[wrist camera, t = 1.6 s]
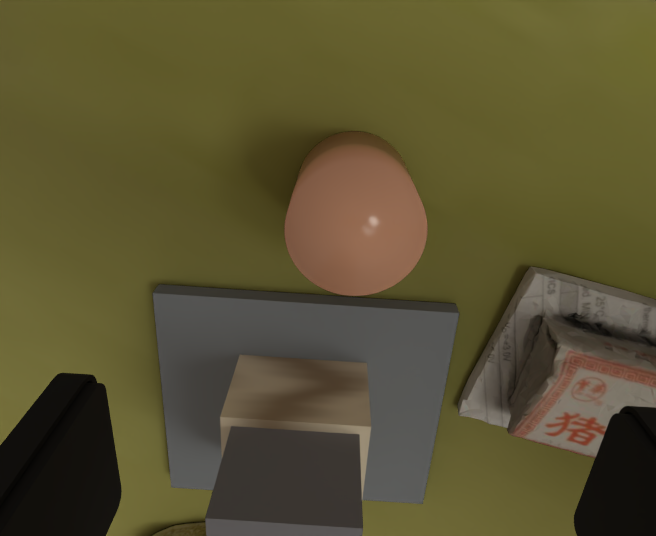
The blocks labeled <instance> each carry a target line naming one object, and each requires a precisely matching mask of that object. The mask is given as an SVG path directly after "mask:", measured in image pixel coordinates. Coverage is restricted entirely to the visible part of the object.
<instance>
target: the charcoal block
mask: <svg viewBox="0 0 656 536" xmlns="http://www.w3.org/2000/svg"><path fill="white" fill-rule="evenodd" d="M205 523H206V536H362V532H363V517H362V490H361V462H360V435H359V434H345V433H330V432H315V431H299V430H284V429H269V428H254V427H238V426H231V428H230V432H229V435H228V439H227V443H226V446H225V450H224V453H223V457H222V460H221V464H220V467H219V471H218V475H217V478H216V482H215V485H214V489H213V492H212V496H211V500H210V503H209V507H208V510H207V514H206V517H205Z"/></svg>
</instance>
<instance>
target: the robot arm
mask: <svg viewBox="0 0 656 536" xmlns="http://www.w3.org/2000/svg"><path fill="white" fill-rule="evenodd" d="M120 499H121V483H120V476H119V470H118V464H117V457H116V451H115V444H114V438H113V432H112V425H111V419H110V412H109V406H108V400H107V393H106V388H105V386H104V384H102V383H97V381H96V378H95V377H94V376H93V375H88V374H71V373H60V374H58V375H57V376H56V377H55V378H54V379H53V380H52V381H51V382H50V384H49V385H48V386H47V387H46V389H45V390H44V391H43V393H42V394H41V395H40V396H39V398H38V399H37V400H36V401H35V403H34V404H33V405H32V406H31V408H30V409H29V410H28V411H27V413H26V414H25V415H24V416H23V418H22V419H21V420H20V422H19V423H18V424H17V425H16V427H15V428H14V429H13V430H12V432H11V433H10V434H9V435H8V437H7V438H6V439H5V440H4V442H3V443H2V444H1V445H0V536H106V534H107V532H108V529H109V527H110V525H111V523H112V521H113V518H114V516H115V514H116V512H117V509H118V507H119V503H120ZM574 526H575V531H576V534H577V536H656V407H639V406H624V407H623V408H622V409H621V410H620V412H619V413H616V414H614V415H612V417H611V418H610V421H609V423H608V426H607V429H606V431H605V434H604V437H603V439H602V442H601V445H600V447H599V450H598V453H597V455H596V458H595V461H594V463H593V466H592V469H591V471H590V474H589V477H588V479H587V482H586V485H585V487H584V490H583V493H582V495H581V498H580V501H579V503H578V506H577V509H576V511H575V515H574Z"/></svg>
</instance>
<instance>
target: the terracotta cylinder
mask: <svg viewBox="0 0 656 536" xmlns="http://www.w3.org/2000/svg"><path fill="white" fill-rule="evenodd" d="M284 229H285V241H286V246H287V249H288V252H289V254H290V256H291V259H292V261H293V262H294V264H295V265H296V267H297V268H298V269H299V271H300V272H301V273H302V274H303V275H304V276H305V277H306V278H307V279H308V280H310V281H311V282H312V283H314V284H315V285H317V286H319V287H321V288H323V289H325V290H327V291H330V292H332V293H336V294H340V295H348V296H362V295H370V294H374V293H378V292H381V291H383V290H386V289H388V288H390V287H392V286H394V285H395V284H397V283H398V282H400V281H401V280H402V279H403V278H405V277H406V276H407V275H408V274H409V273H410V272H411V271H412V269H413V268H414V267H415V265H416V264H417V263H418V261H419V259H420V257H421V255H422V253H423V250H424V247H425V244H426V239H427V230H428V228H427V218H426V213H425V209H424V207H423V204H422V201H421V199H420V197H419V195H418V192H417V190H416V188H415V185H414V183H413V181H412V178H411V176H410V174H409V172H408V169H407V167H406V165H405V163H404V161H403V159H402V157H401V156H400V154H399V153H398V151H397V150H396V149H395V148H394V147H393V146H392V145H391V144H389V143H388V142H387V141H385V140H384V139H382V138H380V137H378V136H376V135H373V134H370V133H366V132H359V131H349V132H342V133H338V134H335V135H332V136H330V137H328V138H326V139H324V140H323V141H321V142H320V143H318V144H317V145H316V146H315V147H314V148H313V149H312V150H311V151H310V152H309V153H308V155H307V156H306V158H305V159H304V161H303V163H302V165H301V168H300V170H299V174H298V177H297V180H296V184H295V187H294V191H293V194H292V197H291V201H290V204H289V207H288V211H287V215H286V219H285V228H284Z"/></svg>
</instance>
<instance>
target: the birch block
mask: <svg viewBox="0 0 656 536" xmlns="http://www.w3.org/2000/svg"><path fill="white" fill-rule="evenodd" d="M231 426H238V427H254V428H269V429H284V430H299V431H315V432H330V433H345V434H359V435H360V462H361V490H362V498H363V490H364V482H365V474H366V465H367V457H368V449H369V441H370V432H371V417H370V401H369V386H368V371H367V363H360V362H345V361H329V360H314V359H299V358H284V357H268V356H253V355H239V359H238V362H237V365H236V368H235V371H234V375H233V378H232V381H231V384H230V387H229V390H228V394H227V397H226V400H225V403H224V406H223V409H222V413H221V416H220V427H221V453H222V457H223V453H224V450H225V446H226V443H227V439H228V435H229V432H230V428H231Z"/></svg>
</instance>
